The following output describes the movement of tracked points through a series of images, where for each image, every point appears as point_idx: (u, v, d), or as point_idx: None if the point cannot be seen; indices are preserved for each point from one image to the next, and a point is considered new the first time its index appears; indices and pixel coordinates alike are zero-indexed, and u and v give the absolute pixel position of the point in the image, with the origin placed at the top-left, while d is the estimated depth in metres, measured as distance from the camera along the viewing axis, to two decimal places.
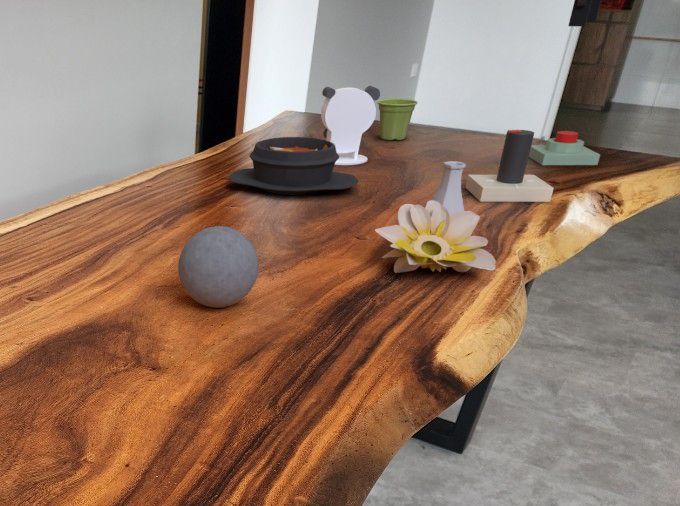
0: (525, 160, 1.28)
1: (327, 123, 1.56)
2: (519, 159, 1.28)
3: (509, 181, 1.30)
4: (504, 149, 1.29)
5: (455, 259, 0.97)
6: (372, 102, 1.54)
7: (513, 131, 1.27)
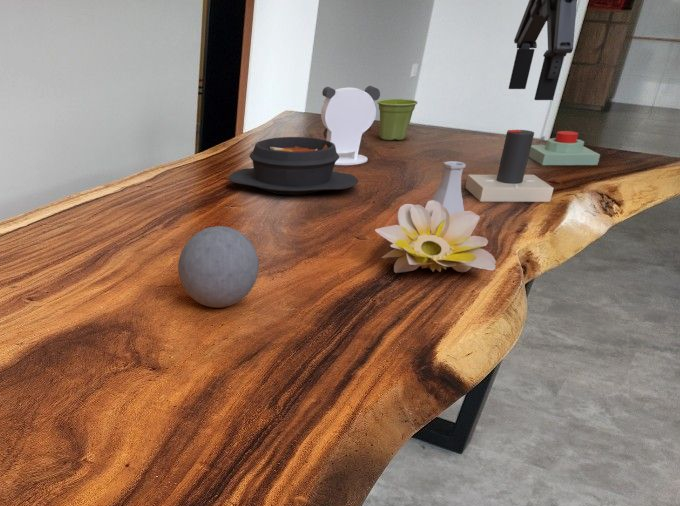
0: (525, 160, 1.28)
1: (327, 123, 1.56)
2: (519, 159, 1.28)
3: (509, 181, 1.30)
4: (504, 149, 1.29)
5: (455, 259, 0.97)
6: (372, 102, 1.54)
7: (513, 131, 1.27)
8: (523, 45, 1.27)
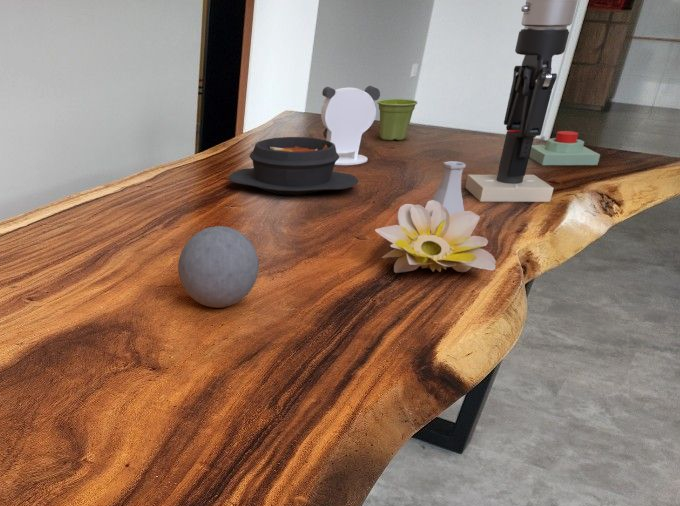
0: None
1: (327, 123, 1.56)
2: None
3: (509, 181, 1.30)
4: (504, 149, 1.29)
5: (455, 259, 0.97)
6: (372, 102, 1.54)
7: (513, 131, 1.27)
8: (512, 127, 1.30)
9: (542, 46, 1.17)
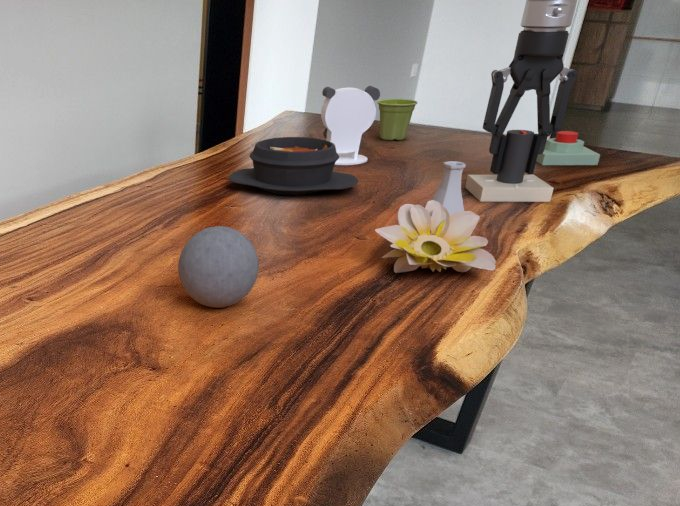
0: None
1: (327, 123, 1.56)
2: None
3: (522, 179, 1.31)
4: (522, 151, 1.27)
5: (455, 259, 0.97)
6: (372, 102, 1.54)
7: None
8: None
9: (565, 46, 1.19)
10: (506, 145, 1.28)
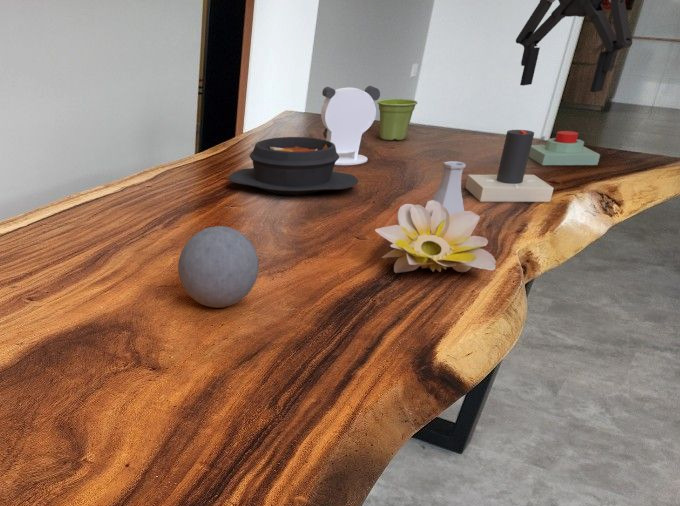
0: None
1: (327, 123, 1.56)
2: None
3: (522, 179, 1.31)
4: (522, 151, 1.27)
5: (455, 259, 0.97)
6: (372, 102, 1.54)
7: None
8: (531, 44, 1.37)
9: None
10: (506, 145, 1.28)
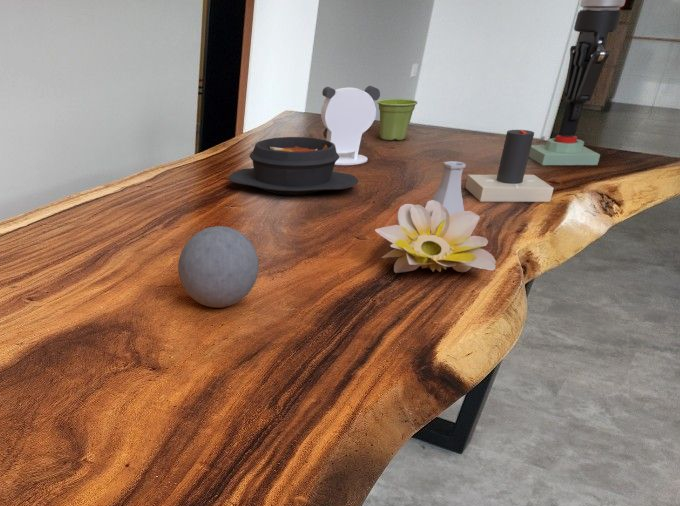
0: None
1: (327, 123, 1.56)
2: None
3: (522, 179, 1.31)
4: (522, 151, 1.27)
5: (455, 259, 0.97)
6: (372, 102, 1.54)
7: None
8: (572, 98, 1.50)
9: (599, 24, 1.39)
10: (506, 145, 1.28)
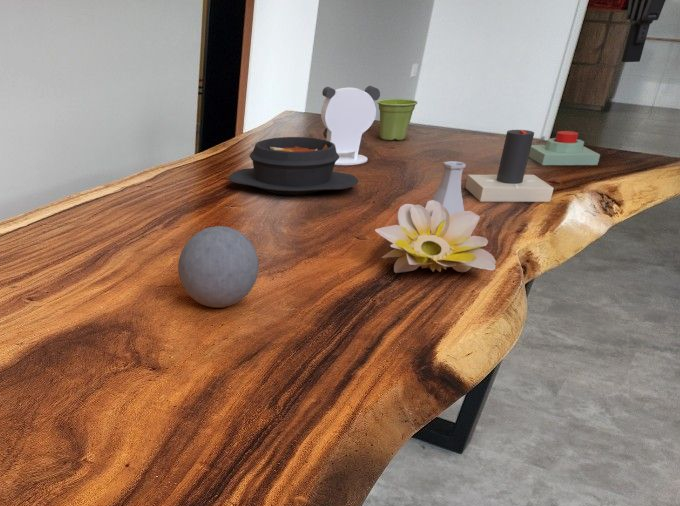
0: None
1: (327, 123, 1.56)
2: None
3: (522, 179, 1.31)
4: (522, 151, 1.27)
5: (455, 259, 0.97)
6: (372, 102, 1.54)
7: None
8: (636, 20, 1.38)
9: None
10: (506, 145, 1.28)
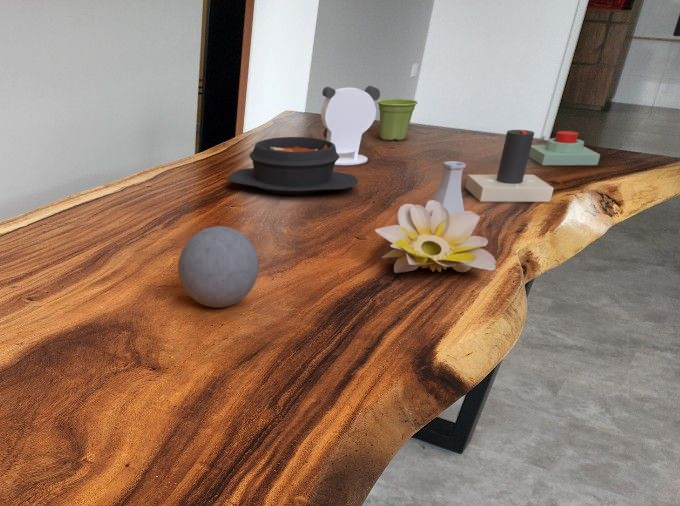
0: None
1: (327, 123, 1.56)
2: None
3: (522, 179, 1.31)
4: (522, 151, 1.27)
5: (455, 259, 0.97)
6: (372, 102, 1.54)
7: None
8: None
9: None
10: (506, 145, 1.28)
